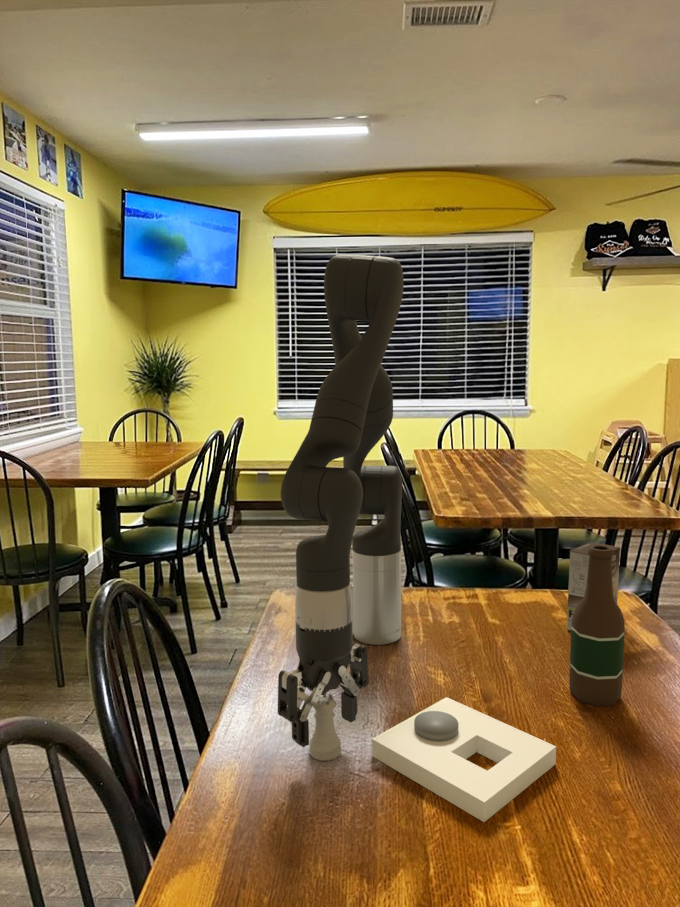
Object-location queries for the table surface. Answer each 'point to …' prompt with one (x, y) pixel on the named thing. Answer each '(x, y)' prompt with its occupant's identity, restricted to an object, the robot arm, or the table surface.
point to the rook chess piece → (325, 731)
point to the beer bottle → (597, 636)
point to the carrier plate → (464, 756)
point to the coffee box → (580, 573)
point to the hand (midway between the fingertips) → (325, 731)
